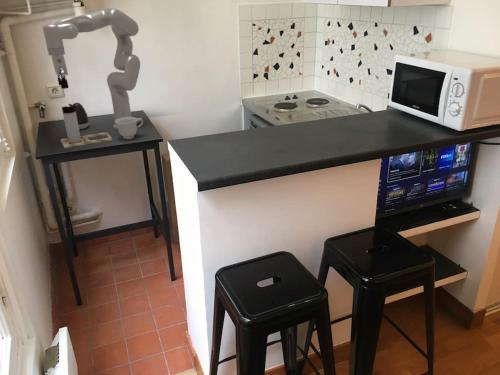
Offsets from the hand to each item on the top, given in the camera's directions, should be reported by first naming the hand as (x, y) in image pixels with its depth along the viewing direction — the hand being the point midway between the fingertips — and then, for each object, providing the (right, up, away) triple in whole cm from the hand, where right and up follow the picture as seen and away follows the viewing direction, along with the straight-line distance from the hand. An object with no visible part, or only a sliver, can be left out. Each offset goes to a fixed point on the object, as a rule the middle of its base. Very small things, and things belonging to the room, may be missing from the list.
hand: (63, 86), depth 212 cm
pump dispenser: (-6, -16, +37) cm, 41 cm away
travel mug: (+1, -27, +12) cm, 30 cm away
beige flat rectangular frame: (+6, -26, +15) cm, 30 cm away
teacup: (+29, -23, +19) cm, 42 cm away
